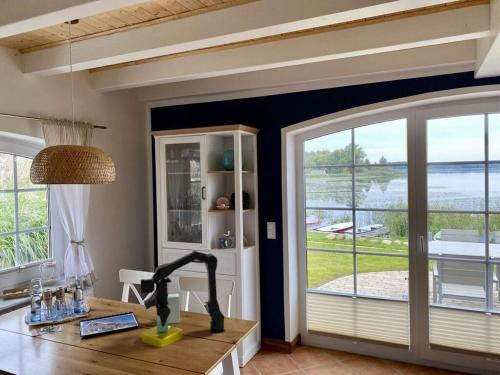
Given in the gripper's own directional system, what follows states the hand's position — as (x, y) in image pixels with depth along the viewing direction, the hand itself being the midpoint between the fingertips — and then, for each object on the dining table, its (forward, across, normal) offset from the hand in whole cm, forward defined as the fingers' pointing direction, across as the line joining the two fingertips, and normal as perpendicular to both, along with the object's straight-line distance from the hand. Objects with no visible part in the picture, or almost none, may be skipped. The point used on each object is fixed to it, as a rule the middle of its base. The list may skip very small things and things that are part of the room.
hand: (162, 322), depth 188 cm
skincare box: (+8, -20, +7) cm, 23 cm away
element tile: (+8, +1, 0) cm, 8 cm away
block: (+3, 0, 0) cm, 3 cm away
